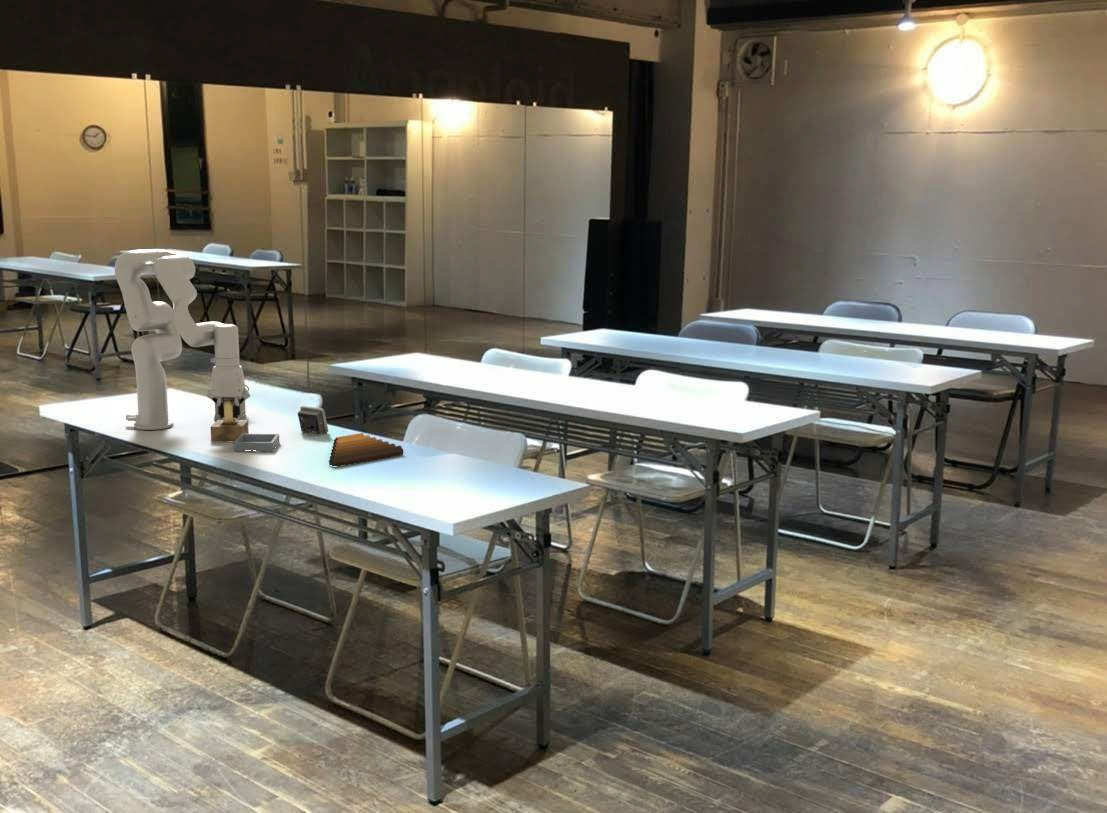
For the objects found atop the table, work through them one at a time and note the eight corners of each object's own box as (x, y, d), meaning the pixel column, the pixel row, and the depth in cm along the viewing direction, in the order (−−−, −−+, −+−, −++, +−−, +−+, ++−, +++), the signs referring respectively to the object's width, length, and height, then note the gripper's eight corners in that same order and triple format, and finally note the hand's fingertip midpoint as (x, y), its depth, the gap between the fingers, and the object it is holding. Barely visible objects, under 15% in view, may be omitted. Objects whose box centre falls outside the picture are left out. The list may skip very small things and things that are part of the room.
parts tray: (233, 451, 325) (233, 442, 324) (241, 442, 336) (241, 433, 336) (272, 452, 326) (272, 442, 325) (279, 442, 337) (279, 433, 337)
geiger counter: (233, 376, 374) (204, 389, 350) (250, 377, 374) (222, 390, 350) (235, 414, 377) (206, 429, 353) (252, 414, 377) (224, 430, 352)
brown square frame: (211, 441, 336) (210, 426, 335) (218, 434, 346) (217, 419, 345) (242, 441, 337) (242, 426, 336) (248, 434, 347) (248, 420, 346)
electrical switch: (329, 433, 353) (327, 407, 350) (320, 437, 348) (317, 411, 345) (306, 430, 356) (304, 404, 354) (297, 434, 352) (294, 408, 349)
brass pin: (222, 439, 340) (221, 397, 337) (225, 436, 344) (223, 395, 341) (235, 439, 340) (233, 398, 337) (237, 436, 344) (236, 395, 341)
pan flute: (335, 469, 310) (403, 456, 327) (334, 458, 309) (403, 446, 326) (292, 453, 327) (359, 441, 344) (292, 442, 327) (359, 432, 344)
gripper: (198, 363, 332) (200, 419, 336) (251, 364, 334) (253, 419, 337) (203, 360, 339) (206, 414, 343) (255, 360, 341) (257, 415, 345)
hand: (229, 416), depth 340 cm, fingers closed on brass pin, 4 cm apart
